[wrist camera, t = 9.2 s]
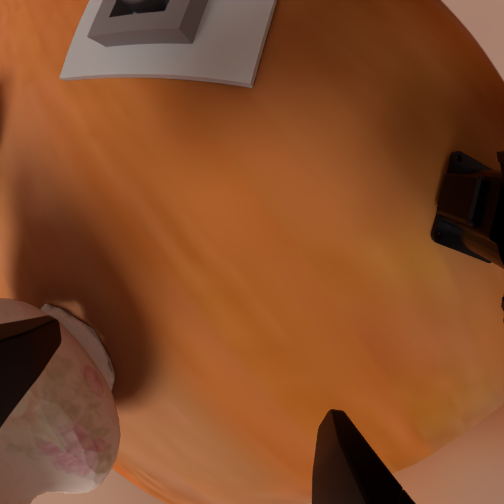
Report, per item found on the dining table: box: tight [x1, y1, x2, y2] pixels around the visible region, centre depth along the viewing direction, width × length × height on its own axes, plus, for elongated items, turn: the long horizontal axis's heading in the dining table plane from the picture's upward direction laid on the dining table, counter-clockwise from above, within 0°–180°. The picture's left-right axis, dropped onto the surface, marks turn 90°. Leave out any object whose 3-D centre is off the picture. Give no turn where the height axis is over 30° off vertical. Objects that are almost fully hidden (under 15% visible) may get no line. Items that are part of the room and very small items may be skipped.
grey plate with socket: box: [59, 0, 277, 88], centre depth 13 cm, size 16×12×4 cm
